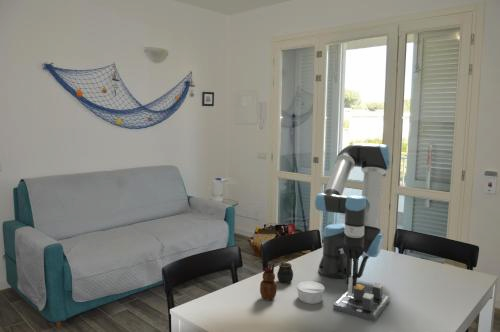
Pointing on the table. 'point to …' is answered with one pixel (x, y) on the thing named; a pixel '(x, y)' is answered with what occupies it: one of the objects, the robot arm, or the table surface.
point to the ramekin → (310, 292)
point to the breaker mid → (359, 292)
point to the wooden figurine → (268, 284)
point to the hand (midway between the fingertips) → (351, 292)
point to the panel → (360, 306)
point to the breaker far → (377, 290)
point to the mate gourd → (285, 272)
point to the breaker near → (367, 301)
